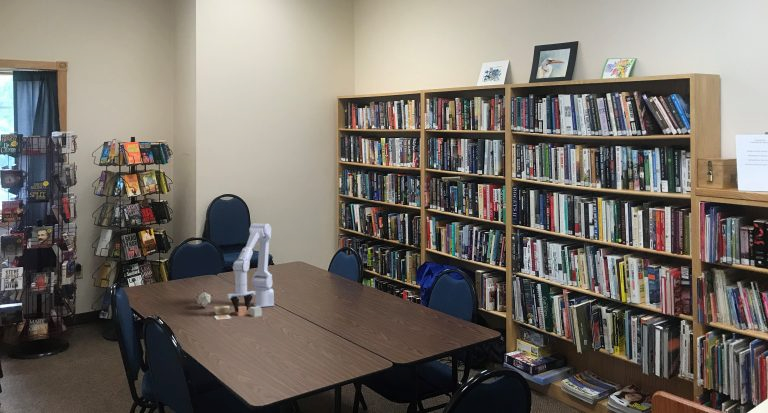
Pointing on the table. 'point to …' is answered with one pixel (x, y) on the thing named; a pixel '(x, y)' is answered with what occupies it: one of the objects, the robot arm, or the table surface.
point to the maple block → (222, 310)
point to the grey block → (255, 311)
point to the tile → (222, 317)
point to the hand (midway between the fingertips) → (241, 310)
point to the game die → (204, 299)
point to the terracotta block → (242, 310)
